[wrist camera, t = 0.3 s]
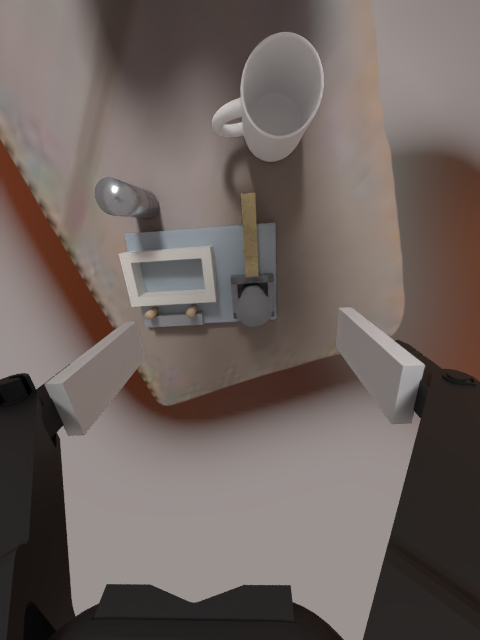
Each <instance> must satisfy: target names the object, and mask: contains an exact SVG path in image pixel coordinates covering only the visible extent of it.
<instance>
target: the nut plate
mask: <svg viewBox="0 0 480 640" xmlns="http://www.w3.org/2000/svg"><path fill="white" fill-rule="evenodd" d="M256 226H257V251H258V274H261V273H273V275H274V305H275V317H271V314H272V305H271V302H270V300H269V298H268V297H267V282H265V283H248V284H238V291H239V299H238V301H237V304H236V315H237V318H238V319H234V317H233V305H232V293H231V281H230V278H231V275H245V258H244V241H243V225H236V226H223V227H209V228H196V229H182V230H169V231H155V232H141V233H128V234H124V236H125V240H126V245H127V249H128V252H124V253H119V257H120V261H121V265H122V269H123V273H124V277H125V281H126V285H127V289H128V293H129V297H130V302H131V306H132V307H136V306H141V310H142V314H143V318H144V323H145V326H148V327H168V326H188V325H203V324H204V323H219V322H239V321H240V322H241V323H243V324H244V325H246V326H249V327H259V326H262V325H264V324H265V323H266V322H267V321H268V320H277V308H276V229H275V223H264V224H256Z"/></svg>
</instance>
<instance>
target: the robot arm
mask: <svg viewBox="0 0 480 640" xmlns="http://www.w3.org/2000/svg"><path fill="white" fill-rule="evenodd" d="M336 348H337V349H338V351H339V352H340V353H341V355H342V356H343V357H344V359H345V360H346V362H347V363H348V364H349V366H350V367H351V368H352V370H353V371H354V373H355V374H356V375H357V377H358V378H359V380H360V381H361V382H362V384H363V385H364V386H365V388H366V389H367V390H368V392H369V393H370V395H371V396H372V397H373V399H374V400H375V402H376V403H377V404H378V406H379V407H380V408H381V410H382V411H383V413H384V414H385V415H386V417H387V418H388V419H389V421H390V422H391V423H392V424H404V423H405V424H406V423H412V418H413V414H414V411H415V412H416V414H417V415H418V416H419V417H420V418H421V420H420V424H419V428H418V432H417V436H416V440H415V443H414V447H413V451H412V455H411V459H410V463H409V467H408V470H407V474H406V478H405V482H404V486H403V490H402V493H401V497H400V501H399V505H398V508H397V512H396V516H395V520H394V524H393V528H392V532H391V536H390V539H389V543H388V546H387V550H386V554H385V557H384V561H383V565H382V569H381V572H380V576H379V580H378V584H377V588H376V592H375V595H374V599H373V603H372V607H371V611H370V615H369V618H368V622H367V626H366V630H365V634H364V638H363V640H480V382H479V381H478V380H477V379H476V378H474V377H472V376H470V375H468V374H466V373H463V372H460V371H457V370H451V369H442V368H440V367H439V366H438V365H436V364H435V363H434V362H432V361H431V360H429V359H428V358H427V357H425V356H423V354H421V353H420V352H419V351H417V350H416V349H414V348H413V347H412V346H410V345H409V344H407V343H404V342H402V341H399V340H393V339H391V338H390V337H389V336H387V335H386V334H385V333H384V332H382V331H381V330H380V329H378V328H377V327H376V326H375V325H373V324H372V323H371V322H370V321H368V320H367V319H366V318H364V317H363V316H362V315H361V314H359V313H358V312H357V311H356V310H354V309H353V308H352V307H347V308H339V311H338V325H337V339H336ZM144 359H145V354H144V350H143V346H142V342H141V339H140V335H139V331H138V327H137V323H136V322H125V323H123V324H122V325H121V326H119V327H118V328H117V329H115V330H114V331H113V332H112V333H110V334H109V335H108V336H106V337H105V338H104V339H102V340H101V341H100V342H99V343H97V344H96V345H95V346H93V347H92V348H91V349H90V350H88V351H87V352H86V353H84V354H83V355H82V356H80V357H79V358H78V359H76V360H75V361H74V362H73V363H71V364H69V365H68V366H67V367H65V368H64V369H63V370H62V371H60V372H59V373H57V374H56V375H55V376H53V377H52V378H51V379H50V380H48V381H47V382H46V383H44V384H43V385H42V386H40V387H39V388H38V389H35V386H34V384H33V382H32V380H31V378H30V376H29V374H25V373H23V374H16V375H12V376H9V377H6V378H3V379H1V380H0V640H343V638H341V636H340V635H339V634H338V633H337V632H336V631H335V630H334V629H333V628H332V627H331V626H330V625H329V624H328V623H326V622H325V621H324V620H322V619H321V618H320V617H319V616H317V615H316V614H315V613H313V612H311V611H310V610H308V609H306V608H305V607H303V606H300V605H298V604H296V603H293V602H292V594H291V586H290V585H243V586H240V587H237V588H235V589H232V590H229V591H227V592H224V593H221V594H219V595H216V596H213V597H211V598H208V599H205V600H202V601H200V602H196V603H192V602H188V601H186V600H184V599H181V598H179V597H177V596H175V595H172V594H170V593H168V592H166V591H163V590H161V589H159V588H157V587H154V586H152V585H130V584H129V585H128V584H127V585H121V584H120V585H119V584H107V585H106V587H105V590H104V593H103V595H102V598H101V600H100V603H99V604H97V605H95V606H93V607H91V608H89V609H87V610H85V611H84V612H82V613H81V614H79V615H77V616H76V617H75V614H74V610H73V606H72V599H71V586H70V573H69V558H68V545H67V531H66V518H65V503H64V490H63V476H62V462H61V449H60V438H59V436H58V434H57V431H58V430H59V429H60V428H61V427H62V426H64V428H65V430H66V432H67V434H68V436H71V435H72V436H73V435H85V434H86V433H87V431H88V430H89V429H90V427H91V426H92V425H93V424H94V422H95V421H96V420H97V419H98V417H99V416H100V415H101V413H102V412H103V411H104V410H105V408H106V407H107V406H108V405H109V403H110V402H111V401H112V399H113V398H114V397H115V396H116V394H117V393H118V392H119V391H120V389H121V388H122V387H123V386H124V384H125V383H126V382H127V381H128V379H129V378H130V377H131V376H132V374H133V373H134V372H135V370H136V369H137V368H138V367H139V365H140V364H141V363H142V362H143V360H144Z"/></svg>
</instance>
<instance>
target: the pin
mask: <svg viewBox="0 0 480 640" xmlns="http://www.w3.org/2000/svg"><path fill="white" fill-rule="evenodd" d="M95 198H96V201H97V203H98V205H99V207H100V208H101V209H102V210H103V211H104V212H105V213H107V214H109V215H114V216H125V217H136V218H147V219H149V218H153V217H154V216H155V215H156V214H157V213H158V210H159V203H158V200H157V198H156V196H155V195H154V194H153V193H151V192H149V191H147V190H144V189H141V188H139V187H136V186H133V185H131V184H128V183H125V182H122V181H120V180H117V179H114V178H110V177H107V178H103V179H101V180H100V181H99V182H98V183H97V185H96V188H95Z"/></svg>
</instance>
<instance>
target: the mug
mask: <svg viewBox="0 0 480 640" xmlns="http://www.w3.org/2000/svg"><path fill="white" fill-rule="evenodd" d="M323 89H324V74H323V68H322V64H321V60H320V58H319V55H318V53H317V51H316V50H315V48H314V47H313V46H312V44H311V43H310V42H309V41H308V40H306V39H305V38H304V37H302V36H300V35H298V34H296V33H292V32H279V33H275V34H273V35H270V36H269V37H267V38H265V39H264V40H263V41H261V42H260V43H259V44H258V45H257V46H256V47H255V49H254V50H253V51H252V53H251V54H250V56H249V57H248V59H247V62H246V64H245V67H244V69H243V73H242V77H241V87H240V94H241V97H240V98H237V99H235V100H232V101H230V102H228V103H227V104H225V105H223V106H222V107H221V108H220V109H219V110H218V111H217V112H216V113H215V115H214V117H213V119H212V128H213V130H214V132H215V133H216V134H217V135H218V136H221V137H224V138H233V137H240V136H244V139H245V142H246V144H247V146H248V148H249V150H250V151H251V152H252V153H253V154H254V155H255V156H256V157H257V158H259V159H261V160H263V161H267V162H275V161H279V160H281V159H284V158H285V157H287V156H288V155H289V154H291V152H292V151H293V150H294V149H295V148H296V146H297V145H298V143H299V142H300V140H301V138H302V137H303V135H304V133H305V131H306V130H307V128H308V126H309V125H310V123H311V121H312V120H313V118H314V116H315V114H316V113H317V111H318V108H319V106H320V103H321V100H322V95H323ZM239 117H242V122H240V123H236V124H230V125H225V123H227V122H228V121H230V120H233V119H236V118H239Z"/></svg>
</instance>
